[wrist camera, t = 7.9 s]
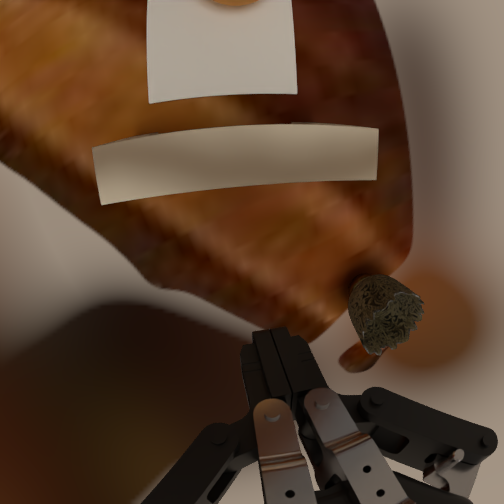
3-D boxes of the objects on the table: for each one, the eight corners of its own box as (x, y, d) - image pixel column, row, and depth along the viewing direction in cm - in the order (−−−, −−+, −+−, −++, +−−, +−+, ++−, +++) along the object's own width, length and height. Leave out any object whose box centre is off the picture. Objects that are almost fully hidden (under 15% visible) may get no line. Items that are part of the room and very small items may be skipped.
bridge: (134, 136, 20) (91, 147, 11) (313, 122, 22) (378, 128, 13) (138, 171, 21) (101, 205, 13) (313, 155, 23) (376, 180, 15)
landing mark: (148, -16, 13) (148, -17, 13) (288, -21, 15) (289, -21, 15) (149, 103, 19) (149, 103, 19) (296, 94, 21) (297, 94, 20)
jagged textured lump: (390, 251, 30) (433, 288, 23) (379, 303, 33) (413, 343, 26) (334, 260, 29) (373, 305, 22) (327, 315, 32) (357, 363, 25)
